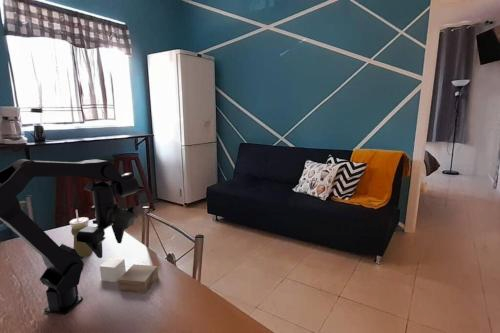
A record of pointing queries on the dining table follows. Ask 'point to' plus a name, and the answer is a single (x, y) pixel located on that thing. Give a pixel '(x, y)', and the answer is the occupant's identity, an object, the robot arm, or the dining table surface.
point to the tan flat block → (138, 278)
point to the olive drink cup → (80, 246)
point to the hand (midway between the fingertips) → (110, 250)
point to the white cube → (112, 269)
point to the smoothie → (79, 220)
